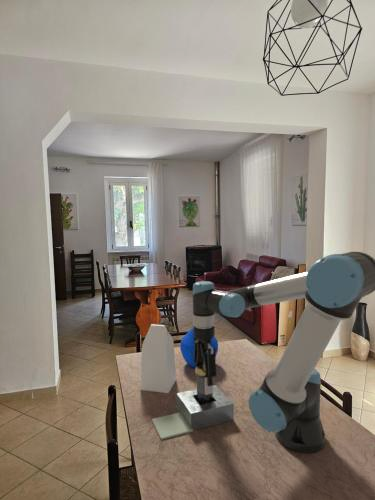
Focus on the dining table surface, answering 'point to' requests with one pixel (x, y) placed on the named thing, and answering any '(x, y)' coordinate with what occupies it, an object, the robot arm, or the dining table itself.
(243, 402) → the dining table surface
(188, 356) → the vase
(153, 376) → the milk
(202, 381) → the grey and gold cylinder
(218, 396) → the housing
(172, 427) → the mat
